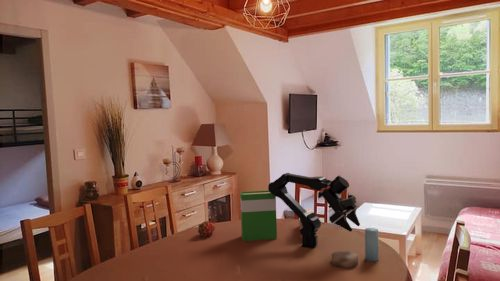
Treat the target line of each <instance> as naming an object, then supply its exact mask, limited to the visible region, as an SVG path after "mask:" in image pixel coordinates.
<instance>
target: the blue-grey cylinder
mask: <svg viewBox="0 0 500 281" xmlns="http://www.w3.org/2000/svg"><path fill="white" fill-rule="evenodd" d="M364 256H365V258H364V259H365V260H366V261H368V262H378V261H379V229H378V228H375V227H366V228H364Z"/></svg>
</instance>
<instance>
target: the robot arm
mask: <svg viewBox="0 0 500 281" xmlns="http://www.w3.org/2000/svg"><path fill="white" fill-rule="evenodd" d="M288 183H292V184H296V185H297V184H298V185H302V186H307V187H309V188H310V189H312V190H314V191H318V197H317V198H318V199H320V198H323V199H324V200H325V202H326V203H327V204H328V208H329V209H332V210H333V212H334V213H333V214H331V215H330V216H329V221H330V223H331V224H334V225H337V226H339V227H340V228H343V229H344V230H347V231H349V232H352V231H353V228H352V227H351V225H350V224H349V222H348V221H347V220H349V221H351V222H352V223H353V224H354V225H356V226H357V227H359V226H361V224H360V221H359V218H358V217H357V208H358V207H357V205H356V204H357V197H355V196H354V195H353V193H352V194H349V195H348V196H347V198H345V199H344V198H343V197H340V196H338V195H341V194H342V193H344V192H345V191H346V190H347V189H348V188H349V187H350V183H349V182H348V180H347V179H345V178H343V177H342V176H341V175H337V176H336V177H335V178H334V179H333V180H330V179H327V177H326V176H305V175H301V174H294V173H290V172H286V173H283V174H281V176H280V177H278V178H277V179H275V180H274V181H272V182H270V183H268V186H267V187H268V188H267V190H269V192H270V193H272V194H273V195H274V196H276V198H279V199H280V200H281V201H282V202H283V203H284V204H285V205H286V206H287V207H288V208H289V210H291V211H292V213H294V214H295V216H296V217H298V219H299V221H300V220H301V223H302V225H303V228H302V229H301V230H300V229H299V234H300V233H301V235H302V238H301V239H302V240H301V241H302V243H301V245H300V246H301V248H309V249H315V248H316V247H317V246H318V240H319V239H318V236H317V232H318V230H319V229H320V228H321V226H322V224H321V219H320V217H319V216H317V215H316V213H315V212H312V213H311V214H310V213H308V212H307V211H306V210H305V209H306V208H304V207H303V206H302V205H301V204H300V203H299V202H298V201H297V200H296V199H295V198H294V196H292V195H291V194H290V193H289V191H288V190H287V189H288V188H287V185H288Z"/></svg>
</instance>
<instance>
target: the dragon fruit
mask: <svg viewBox="0 0 500 281" xmlns="http://www.w3.org/2000/svg"><path fill="white" fill-rule="evenodd" d="M197 230H198V231H197V234H199V235H200V236H203V237H204V238H207V237H208V236H212V237H213V233H214V232H215V230H216V228H215V226H214V223H212V222H211V221H209V220H206V221H204V222H202V223H201V224H199V225H198V229H197Z"/></svg>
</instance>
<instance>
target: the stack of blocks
mask: <svg viewBox="0 0 500 281" xmlns="http://www.w3.org/2000/svg"><path fill="white" fill-rule="evenodd" d="M304 209H305V210H306V211H307V212H308V213H310V214H311V213H313V209H312V208H304ZM302 228H303V225H302V223H301V220H300V219H299V231H300V230H301V229H302ZM299 238H300V239H302V235H301V233H300V232H299Z"/></svg>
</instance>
